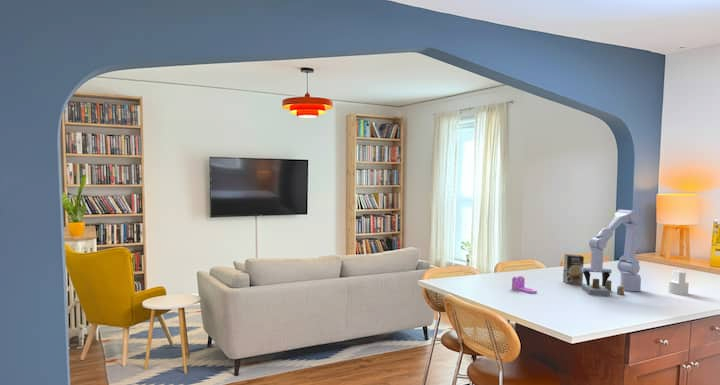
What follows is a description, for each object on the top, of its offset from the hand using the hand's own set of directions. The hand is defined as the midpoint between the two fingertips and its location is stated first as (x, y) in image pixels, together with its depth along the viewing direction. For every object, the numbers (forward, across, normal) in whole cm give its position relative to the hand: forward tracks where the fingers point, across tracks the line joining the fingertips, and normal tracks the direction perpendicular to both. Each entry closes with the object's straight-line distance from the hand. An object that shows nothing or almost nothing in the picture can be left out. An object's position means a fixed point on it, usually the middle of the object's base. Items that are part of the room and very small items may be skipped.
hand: (595, 285), depth 259 cm
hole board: (+3, 0, 0) cm, 3 cm away
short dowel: (+3, -12, +1) cm, 13 cm away
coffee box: (+4, +6, -22) cm, 23 cm away
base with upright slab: (+4, -45, -10) cm, 46 cm away
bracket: (+4, +37, +7) cm, 38 cm away
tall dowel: (+3, 0, 0) cm, 3 cm away
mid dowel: (+3, -8, -6) cm, 11 cm away
